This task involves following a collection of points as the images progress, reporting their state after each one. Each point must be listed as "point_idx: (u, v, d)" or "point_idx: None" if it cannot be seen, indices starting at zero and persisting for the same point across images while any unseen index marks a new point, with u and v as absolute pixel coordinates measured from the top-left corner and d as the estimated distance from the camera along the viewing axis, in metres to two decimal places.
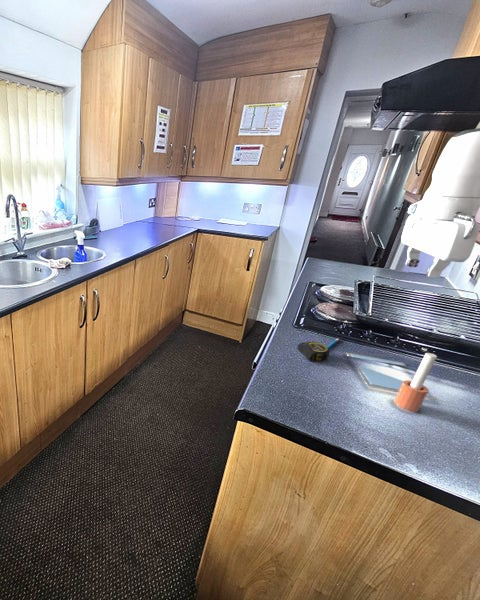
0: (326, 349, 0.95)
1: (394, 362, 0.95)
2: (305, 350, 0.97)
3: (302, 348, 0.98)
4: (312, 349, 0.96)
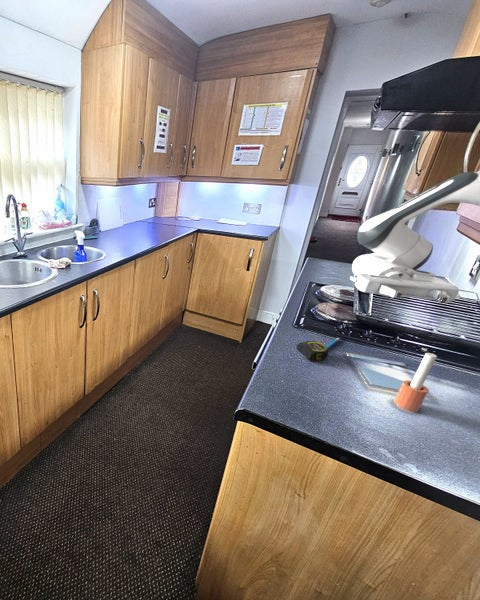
0: (325, 348, 0.95)
1: (394, 362, 0.95)
2: (304, 350, 0.97)
3: (301, 348, 0.98)
4: (312, 349, 0.96)
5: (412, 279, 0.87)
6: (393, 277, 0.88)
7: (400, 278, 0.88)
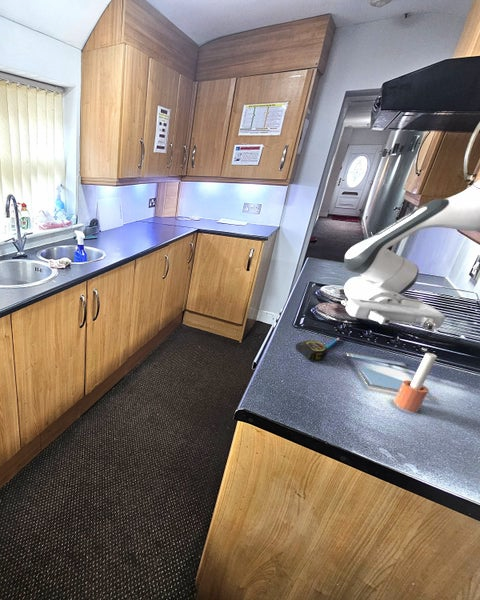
0: (324, 348, 0.95)
1: (394, 362, 0.95)
2: (304, 350, 0.97)
3: (300, 348, 0.98)
4: (311, 349, 0.96)
5: (400, 305, 0.90)
6: (382, 302, 0.91)
7: (389, 303, 0.91)
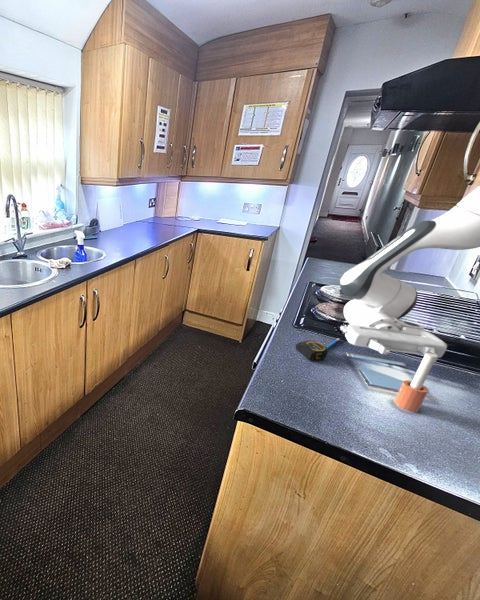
0: (324, 348, 0.95)
1: (394, 362, 0.95)
2: (304, 350, 0.97)
3: (300, 348, 0.98)
4: (311, 349, 0.96)
5: (401, 332, 0.88)
6: (383, 329, 0.89)
7: (389, 331, 0.89)
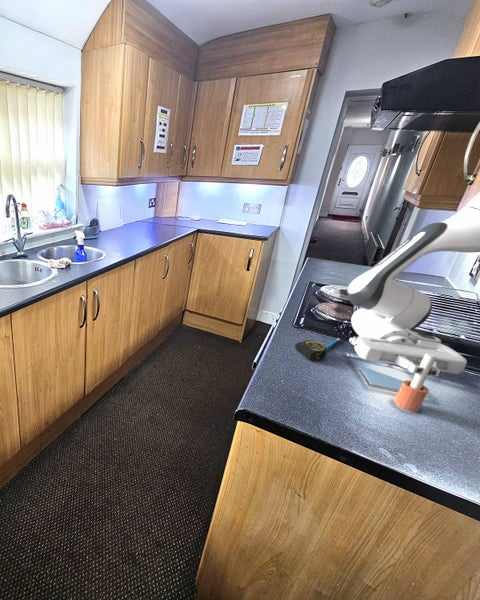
0: (324, 347, 0.95)
1: None
2: (304, 350, 0.97)
3: (300, 348, 0.98)
4: (311, 348, 0.96)
5: (416, 345, 0.81)
6: (395, 342, 0.82)
7: (403, 344, 0.82)
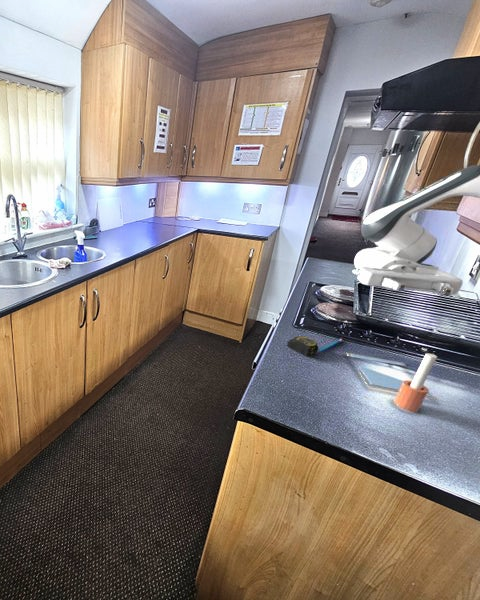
0: (315, 342, 0.99)
1: (394, 362, 0.95)
2: (299, 346, 0.98)
3: (294, 345, 1.00)
4: (305, 344, 0.98)
5: (415, 272, 0.87)
6: (396, 270, 0.88)
7: (403, 271, 0.87)
